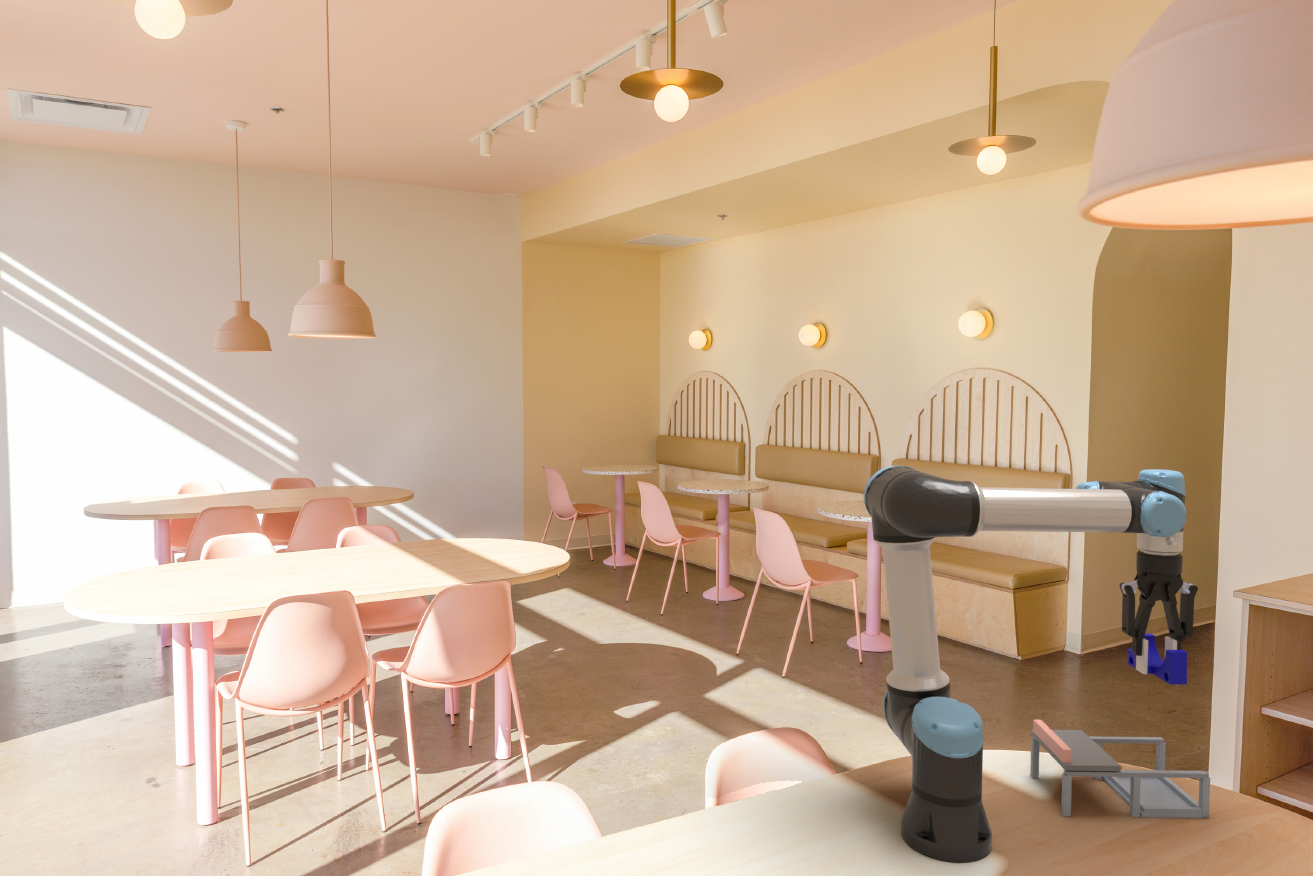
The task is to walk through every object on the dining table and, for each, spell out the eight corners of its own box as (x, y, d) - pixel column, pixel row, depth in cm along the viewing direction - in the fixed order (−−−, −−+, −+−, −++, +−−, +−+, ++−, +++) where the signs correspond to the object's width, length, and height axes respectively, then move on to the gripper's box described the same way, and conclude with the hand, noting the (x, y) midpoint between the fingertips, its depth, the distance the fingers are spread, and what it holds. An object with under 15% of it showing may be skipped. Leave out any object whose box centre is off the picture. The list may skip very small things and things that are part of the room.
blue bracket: (1127, 663, 168) (1127, 633, 168) (1150, 663, 168) (1150, 633, 168) (1162, 684, 156) (1162, 652, 156) (1186, 684, 156) (1187, 652, 156)
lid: (1065, 770, 156) (1065, 751, 156) (1031, 734, 172) (1031, 717, 172) (1120, 771, 156) (1121, 752, 156) (1081, 734, 172) (1081, 718, 172)
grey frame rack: (1064, 816, 157) (1065, 772, 156) (1030, 775, 173) (1031, 735, 172) (1208, 818, 156) (1210, 773, 155) (1161, 777, 172) (1162, 737, 171)
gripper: (1121, 555, 157) (1118, 678, 159) (1219, 555, 157) (1215, 679, 158) (1102, 547, 165) (1099, 665, 166) (1195, 547, 164) (1191, 665, 166)
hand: (1155, 671), depth 162 cm, fingers closed on blue bracket, 5 cm apart
